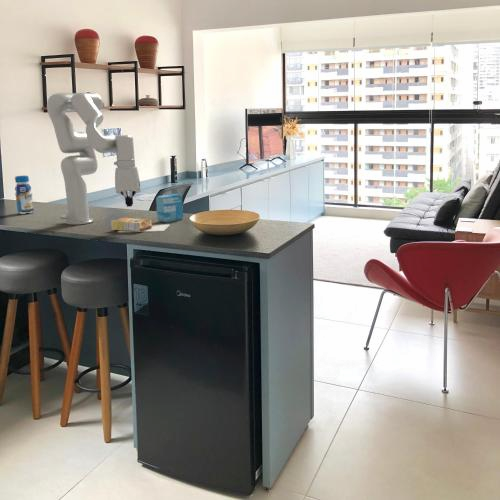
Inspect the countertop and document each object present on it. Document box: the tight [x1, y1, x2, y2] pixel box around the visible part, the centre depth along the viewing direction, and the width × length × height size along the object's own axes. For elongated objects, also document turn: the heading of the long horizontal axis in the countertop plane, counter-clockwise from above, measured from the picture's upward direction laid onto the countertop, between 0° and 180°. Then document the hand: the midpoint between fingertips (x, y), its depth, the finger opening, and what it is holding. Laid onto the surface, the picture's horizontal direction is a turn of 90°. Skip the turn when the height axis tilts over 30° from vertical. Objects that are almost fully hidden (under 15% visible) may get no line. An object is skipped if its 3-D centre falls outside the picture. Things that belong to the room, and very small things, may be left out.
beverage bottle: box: [14, 175, 35, 213], centre depth 316 cm, size 8×8×20 cm
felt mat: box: [117, 223, 171, 233], centre depth 261 cm, size 20×15×1 cm
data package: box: [155, 193, 184, 223], centre depth 278 cm, size 12×4×12 cm, turn 135°
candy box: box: [110, 217, 153, 233], centre depth 259 cm, size 9×4×15 cm
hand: (129, 206), depth 260 cm, fingers closed
